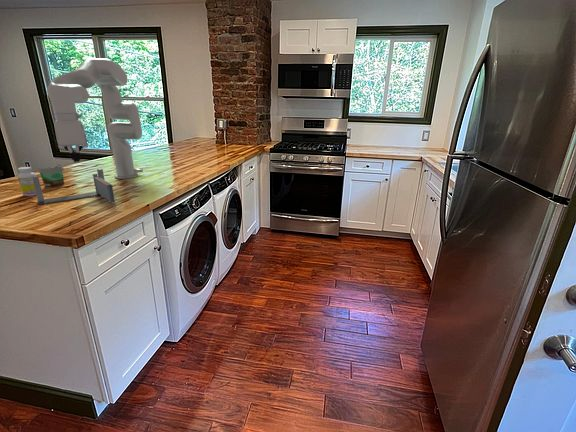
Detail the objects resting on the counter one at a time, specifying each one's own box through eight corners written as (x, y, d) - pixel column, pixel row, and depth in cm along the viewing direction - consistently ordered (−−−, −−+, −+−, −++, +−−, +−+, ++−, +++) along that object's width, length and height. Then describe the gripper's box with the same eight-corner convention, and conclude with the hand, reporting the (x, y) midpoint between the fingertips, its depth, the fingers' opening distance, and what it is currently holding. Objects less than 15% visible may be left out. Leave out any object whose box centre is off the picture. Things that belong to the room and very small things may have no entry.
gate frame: (107, 191, 154) (102, 167, 150) (110, 194, 150) (106, 170, 146) (37, 201, 136) (30, 175, 131) (39, 205, 132) (32, 178, 127)
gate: (95, 192, 149) (92, 174, 145) (99, 191, 150) (96, 173, 147) (110, 202, 134) (107, 183, 131) (115, 202, 136) (111, 182, 133)
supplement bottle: (29, 192, 148) (22, 166, 144) (44, 192, 149) (37, 166, 144) (19, 196, 142) (11, 169, 137) (34, 196, 142) (27, 169, 138)
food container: (52, 188, 155) (47, 169, 151) (42, 187, 156) (37, 168, 153) (72, 183, 166) (68, 164, 163) (63, 182, 167) (59, 164, 164)
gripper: (89, 116, 131) (98, 158, 138) (47, 116, 125) (58, 160, 132) (86, 118, 124) (95, 162, 132) (42, 118, 119) (54, 164, 126)
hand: (77, 161), depth 132 cm, fingers closed
